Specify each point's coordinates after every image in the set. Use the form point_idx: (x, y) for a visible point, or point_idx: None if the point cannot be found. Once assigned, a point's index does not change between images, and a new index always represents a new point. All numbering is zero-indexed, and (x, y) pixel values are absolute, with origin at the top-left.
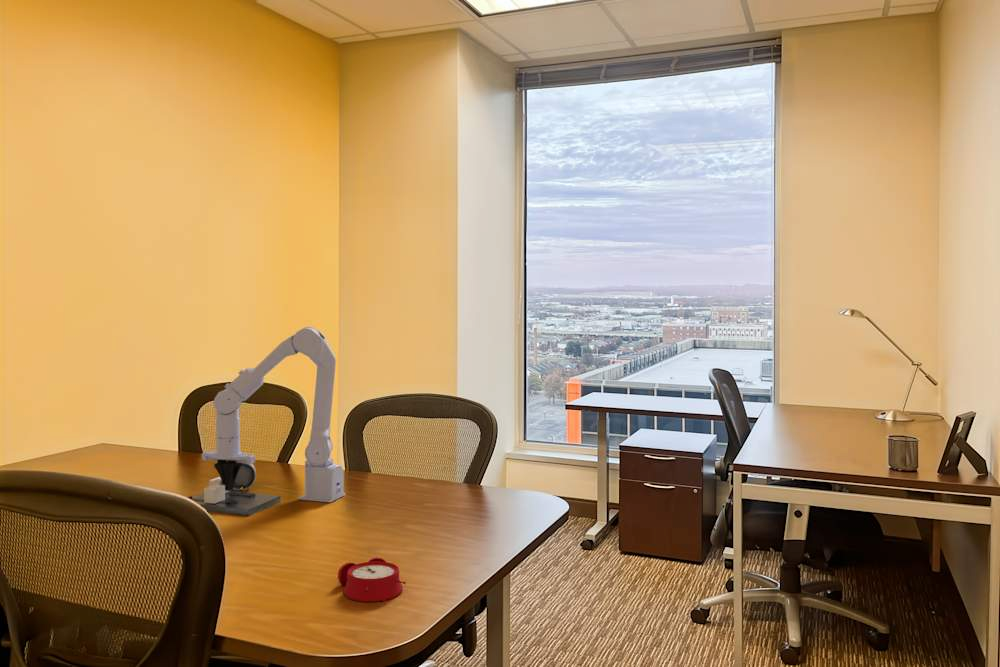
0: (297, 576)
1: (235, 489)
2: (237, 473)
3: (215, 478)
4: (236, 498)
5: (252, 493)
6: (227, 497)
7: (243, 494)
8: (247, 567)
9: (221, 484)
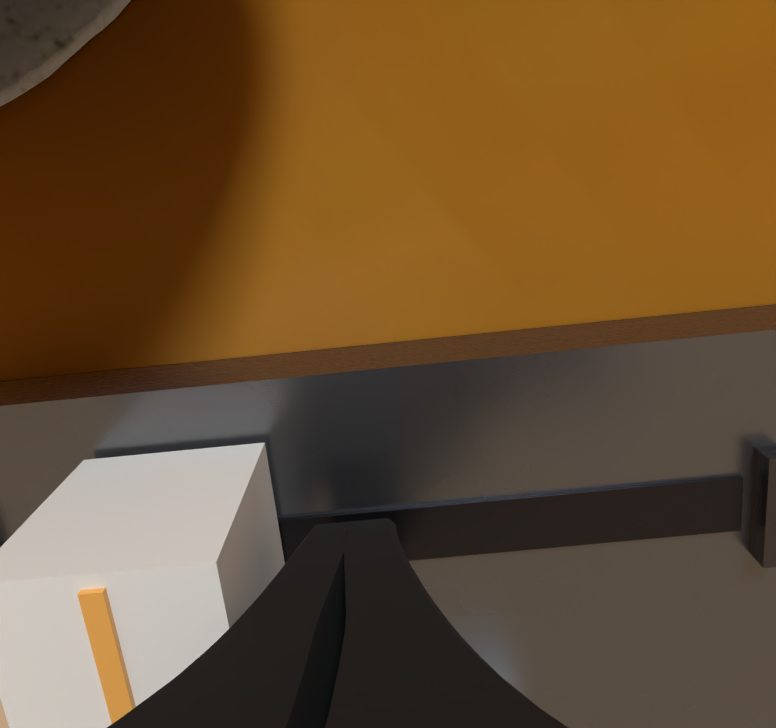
0: None
1: (48, 71)
2: (476, 656)
3: (19, 710)
4: (610, 643)
5: (656, 355)
6: None
7: (565, 458)
8: None
9: None
